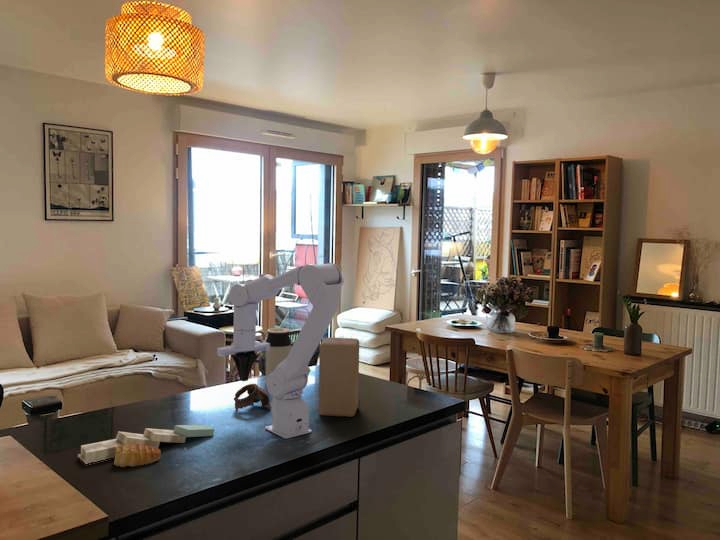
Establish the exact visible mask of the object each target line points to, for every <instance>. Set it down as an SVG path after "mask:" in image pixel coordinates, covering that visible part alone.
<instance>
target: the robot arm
mask: <svg viewBox="0 0 720 540" xmlns="http://www.w3.org/2000/svg"><path fill="white" fill-rule="evenodd" d="M258 276H259V277H258V278H256V279H247V280H246V282H245V283H235V284H234V285H233V286H231V288H230V289H229V293H228V297H229V301H230V303H231V305H233V337H232V338H233V342H232V343H233V344H231V345H227V346H223V347H217V356H218V357H222V358H223V357H226V356H230V357H231V359H232V360H233V362H234V365H235V367H236V370H237V372H238V378H239V381H242V382H246V381H248V380H249V378H250V377H249V376H250V374H251V370H252V368H253V366H254V364H255V361H256V360H257V358H258V353H257V352H264V351H265V352H266V351H269V350H270V343H267V342H266V341H265V342H256V337H257V336H256V334H257V332H256V331H257V329H256V328H257V321H256V320H257V312H258V311H257V310H258V309H259V307H258V306H259V304H260V302H261V301H265V300H267V299H268V300H269V299H270V298H273V297H276V296H277V295H278V293H279V291H280V289H283V288H287V287H291V286H294V285H296V286H300V287H301V288H302V290H303V293H304V294H305V296H306V298H307V300H308V301H309V303H310V304H311V305H312V307H311V310H310V312H309V314H308V315H307V318H306V320H305V322H303V323H304V324H303V325H302V328H301V329H300V331H299V333H298V335H297V337H296V338H295V341H294V343H293V345H291V350H290V352H289V354H288V356H287V358H286V359H285V360H284V361H282V362H281V363H280V364H279V365H277V366H276V368H275V370H274V371H273V372H272V373H270V374H269V375H268V376H267V379H266V378H265V386H266V390H267V392H268V393H269V395H270V397H271V398H272V399H271V400H272V406H271V411H272V413H271V414H272V415H271V425H266V426H265V430H266V431H267V430H268V432H271V433H273V434H274V435H278V436H279V437H280V438H283V439H285V440H286V439H291V438H294V437H298V436H301V435H305V434H310V433H312V429H310V407H309V405H308V403H307V402H306V401H305V400H303V397H302V394H304V389H305V388H306V387H307V385H308V383H309V381H308V379H309V374H310V373H311V369H310V366H309V363H310V361H311V359H312V358H313V356H314V354H315V352H316V350H317V349H318V348H319V346H320V344H321V342H322V340H323V337H324V335H325V334H326V332H327V330H328V329H329V326H330V325H331V323H332V321H333V319H334V317H335V315H336V313H337V312H338V310H339V309H338V308H339V303H340V302H339V301H340V291H341V288H342V286H343V284H344V283H345V281H344V277H343V275H342V270H341V269H340V267H339V266H338V265H337V264H335V263H333V262H329V263H322V264H321V263H320V264H319V263H318V264H311V263H309V264H305V265H300V266H297V267H294V268H292V269H289V270H287V271H286V272H282V273H280V274H278V275H277V276H273V275H271V274H267V273H261V274H259V275H258Z"/></svg>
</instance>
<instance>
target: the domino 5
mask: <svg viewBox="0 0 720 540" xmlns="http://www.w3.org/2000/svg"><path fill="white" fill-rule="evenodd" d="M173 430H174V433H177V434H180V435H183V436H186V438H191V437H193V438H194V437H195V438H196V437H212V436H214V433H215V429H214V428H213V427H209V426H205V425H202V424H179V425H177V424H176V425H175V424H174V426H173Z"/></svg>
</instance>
